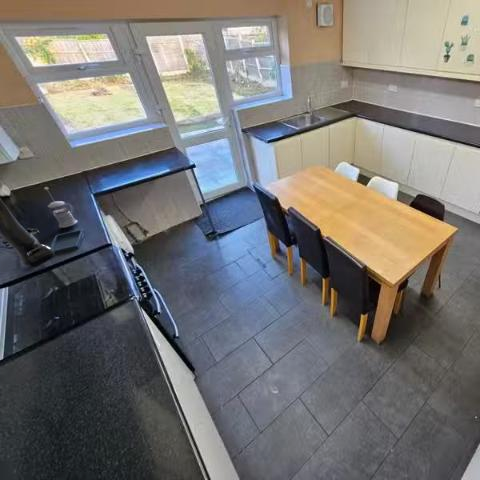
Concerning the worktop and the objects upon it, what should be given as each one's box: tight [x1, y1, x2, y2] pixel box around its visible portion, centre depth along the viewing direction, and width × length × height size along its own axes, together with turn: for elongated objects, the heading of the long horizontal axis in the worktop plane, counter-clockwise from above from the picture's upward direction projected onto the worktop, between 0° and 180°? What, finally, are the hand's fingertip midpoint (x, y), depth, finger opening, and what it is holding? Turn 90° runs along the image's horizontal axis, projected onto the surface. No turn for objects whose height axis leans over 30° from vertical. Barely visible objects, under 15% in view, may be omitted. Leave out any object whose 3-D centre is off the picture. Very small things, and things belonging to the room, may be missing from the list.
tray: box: [49, 228, 86, 254], centre depth 158 cm, size 18×14×2 cm
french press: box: [43, 186, 79, 228], centre depth 168 cm, size 10×12×25 cm
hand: (15, 231), depth 135 cm, fingers closed on brush, 3 cm apart
